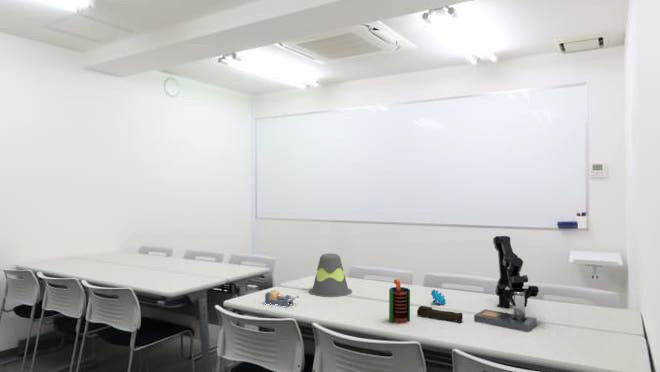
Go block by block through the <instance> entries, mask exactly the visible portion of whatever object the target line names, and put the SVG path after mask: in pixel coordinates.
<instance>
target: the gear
mask: <svg viewBox="0 0 660 372" xmlns="http://www.w3.org/2000/svg"><path fill="white" fill-rule="evenodd" d="M430 295H431V296H432V297H431V298H432V299H433V300H432V304H434V303H438V304H439V305H441V306H444V305H445V304H446V303H447V300H446V298H445V295H444V294H442V292H439V290H438V289H437V290H436V289H433V290H431V292H430Z"/></svg>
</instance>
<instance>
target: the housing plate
mask: <svg viewBox="0 0 660 372" xmlns="http://www.w3.org/2000/svg"><path fill="white" fill-rule="evenodd" d="M473 321H474V322H476V323H480V324H486V325H491V326H497V327H500V328H501V327H502V328H506V329H511V330H516V331H521V332H525V333H526V332H527V333H528V332H530V331H531V330H532V329H533V328H535V327H536V326H537V325H538V324H537V322H538V320H537V318H536V317H530V316H526V315H525V320H524V321H519V320H515V319H514V313H508V312H502V311H497V310H492V309H487V308H485V309H483V310H481V311H479V312H478V313H475V314H474V315H473Z"/></svg>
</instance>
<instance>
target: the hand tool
mask: <svg viewBox="0 0 660 372" xmlns="http://www.w3.org/2000/svg"><path fill="white" fill-rule="evenodd" d="M416 311H417V312H416V314H417V316H419V317H422V318H427V319H430V318H434V319H440V320H441V319H442V320H447V321H452V322H459V323H460V324H461V323H462V321H463V312H454V311H450V310H449V311H446V310H441V309H434V308H432V307H431V306H426V305H420V306H419V307H418V309H417V310H416Z"/></svg>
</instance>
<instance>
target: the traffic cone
mask: <svg viewBox="0 0 660 372" xmlns="http://www.w3.org/2000/svg"><path fill="white" fill-rule="evenodd" d="M316 271H317V272H316V274H315V278H314V280H313V281H314V282H313V286H312V288H311V289H309V290H308V294H309V295H311V296H314V295H315V296H314V297H319V296H320V297H322V298H338V297H340V296H341V297H345V296H348V295H351V294H352V293H353V290H352V289H350V288H349V286H348V283H347V279H346V275H345V273H344V268H343V264H342V259H341V256H340V255H339V254H337V253H324V254H321V256H319V261H318V265H317V270H316Z"/></svg>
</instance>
